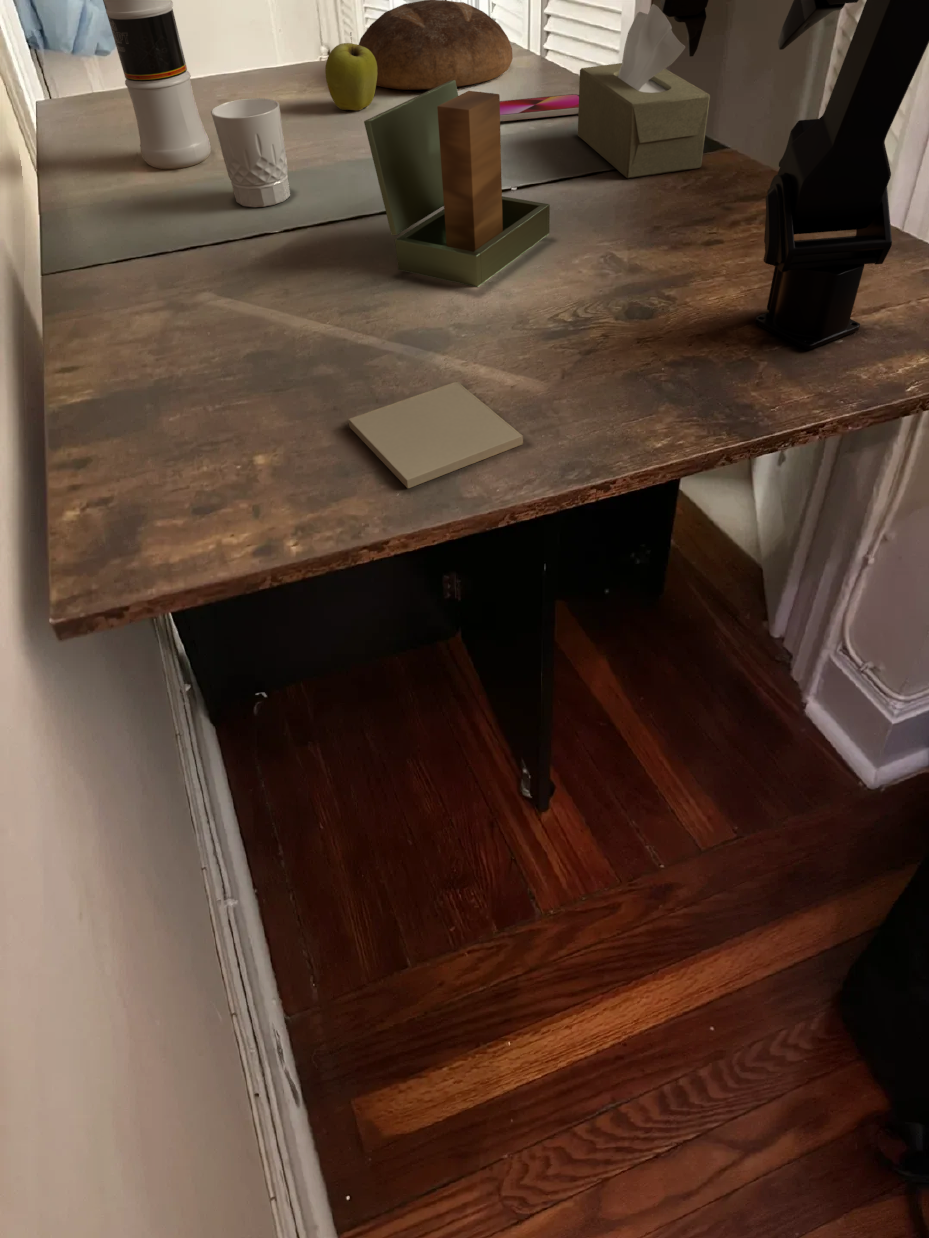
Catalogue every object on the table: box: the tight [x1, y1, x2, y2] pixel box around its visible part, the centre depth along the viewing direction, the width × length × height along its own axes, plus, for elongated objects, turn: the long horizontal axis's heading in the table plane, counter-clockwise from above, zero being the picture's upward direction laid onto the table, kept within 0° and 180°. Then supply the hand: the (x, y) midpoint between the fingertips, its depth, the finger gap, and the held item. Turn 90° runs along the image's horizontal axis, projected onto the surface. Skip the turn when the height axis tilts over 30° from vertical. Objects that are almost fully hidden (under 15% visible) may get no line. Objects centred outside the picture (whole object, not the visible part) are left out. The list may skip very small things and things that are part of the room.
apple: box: [324, 32, 377, 111], centre depth 132 cm, size 8×8×10 cm
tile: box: [348, 380, 524, 489], centre depth 68 cm, size 10×10×1 cm
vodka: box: [102, 0, 212, 170], centre depth 111 cm, size 9×9×30 cm
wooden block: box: [437, 90, 503, 252], centre depth 87 cm, size 4×6×14 cm, turn 147°
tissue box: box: [577, 3, 711, 180], centre depth 108 cm, size 19×10×16 cm, turn 14°
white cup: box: [210, 97, 291, 208], centre depth 105 cm, size 8×8×10 cm
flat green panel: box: [363, 80, 459, 236], centre depth 88 cm, size 10×15×1 cm
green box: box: [394, 195, 551, 288], centre depth 91 cm, size 10×15×4 cm, turn 147°
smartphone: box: [500, 93, 579, 122], centre depth 127 cm, size 7×1×15 cm
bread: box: [358, 0, 513, 91], centre depth 143 cm, size 26×27×10 cm
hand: (735, 49), depth 89 cm, fingers open, 9 cm apart
